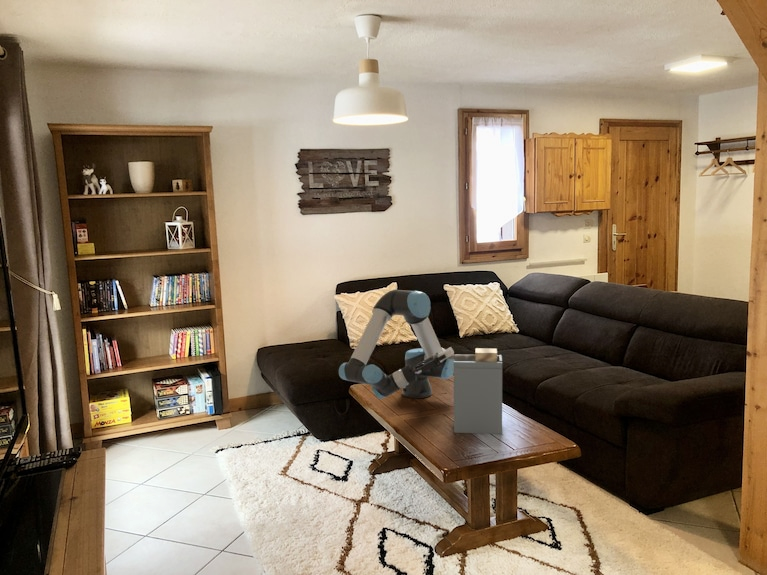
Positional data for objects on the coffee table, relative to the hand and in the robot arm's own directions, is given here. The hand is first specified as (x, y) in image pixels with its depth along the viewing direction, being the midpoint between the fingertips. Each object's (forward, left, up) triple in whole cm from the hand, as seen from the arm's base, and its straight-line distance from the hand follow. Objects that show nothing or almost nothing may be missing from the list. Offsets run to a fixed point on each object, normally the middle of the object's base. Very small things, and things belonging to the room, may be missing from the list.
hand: (452, 350), depth 263 cm
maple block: (-1, +5, -6) cm, 8 cm away
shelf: (-3, +10, -34) cm, 35 cm away
